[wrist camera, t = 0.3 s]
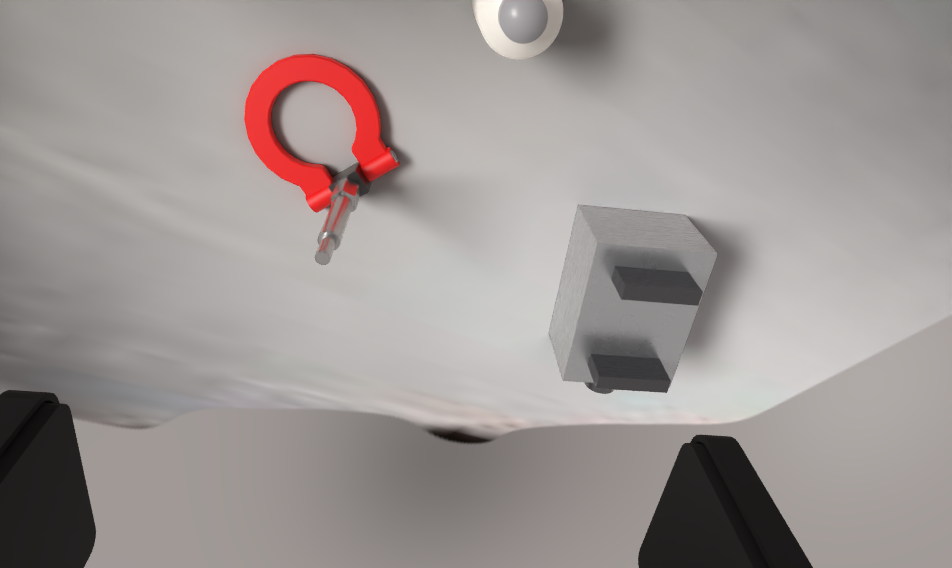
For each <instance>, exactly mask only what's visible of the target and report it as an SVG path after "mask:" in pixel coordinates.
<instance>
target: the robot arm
mask: <svg viewBox="0 0 952 568" xmlns="http://www.w3.org/2000/svg"><path fill="white" fill-rule="evenodd" d="M95 537H96V528H95V523H94V519H93V514H92V509H91V504H90V499H89V495H88V490H87V485H86V480H85V476H84V471H83V466H82V462H81V457H80V452H79V447H78V443H77V438H76V433H75V429H74V424H73V419H72V415H71V411H70V408H69V406H68V405H67V404H60V403H59V401H58V398H57V396H56V395H55V394H54V393H47V392H31V391H16V390H8V391H5V392H3V393H2V394H1V395H0V568H84V566H85V564H86V562H87V560H88V558H89V557H90V554H91V552H92V549H93V546H94V542H95ZM638 565H639V568H813V567H812V566H811V564H810V562H809V560H808V559H807V557H806V555H805V554H804V552H803V550H802V549H801V547H800V545H799V543H798V542H797V540H796V538H795V537H794V535H793V534H792V532H791V530H790V528H789V527H788V525H787V524H786V522H785V520H784V518H783V517H782V515H781V514H780V512H779V510H778V508H777V507H776V505H775V503H774V502H773V500H772V498H771V497H770V495H769V493H768V492H767V490H766V488H765V487H764V485H763V483H762V481H761V480H760V478H759V477H758V475H757V473H756V471H755V470H754V468H753V466H752V465H751V463H750V461H749V460H748V458H747V456H746V454H745V453H744V451H743V449H742V448H741V446H740V445H739V443H738V442H737V441H736V439H734V438H732V437H727V436H712V435H696V436H695V437H693V439H692V441H691V442H690V443H685V444H683V445H682V447H681V449H680V451H679V454H678V456H677V459H676V461H675V464H674V467H673V469H672V471H671V474H670V477H669V479H668V481H667V484H666V486H665V488H664V491H663V494H662V496H661V498H660V501H659V504H658V506H657V508H656V511H655V513H654V516H653V518H652V521H651V523H650V526H649V528H648V531H647V533H646V536H645V538H644V540H643V543H642V546H641V548H640V551H639V557H638Z"/></svg>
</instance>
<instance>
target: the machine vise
mask: <svg viewBox="0 0 952 568" xmlns="http://www.w3.org/2000/svg"><path fill="white" fill-rule="evenodd" d="M717 255H718V253H717V252H716V251H715V250H714V249H713V248H712V246H711V245H710V244H709V243H708V242H707V240H706V239H705V238H704V237H703V236H702V235H701V233H700V232H699V231H698V230H697V229H696V227H695V226H694V225H693V224H692V223H691V221H690V220H689V219H688V218H687V217H686V216H685V215H677V214H667V213H657V212H647V211H637V210H626V209H616V208H606V207H596V206H586V205H578V207H577V211H576V215H575V220H574V224H573V229H572V233H571V237H570V242H569V246H568V251H567V255H566V259H565V264H564V268H563V272H562V277H561V281H560V286H559V290H558V294H557V299H556V303H555V307H554V312H553V316H552V321H551V325H550V329H549V335H550V339H551V342H552V345H553V349H554V352H555V356H556V359H557V363H558V366H559V370H560V373H561V377H562V380H563V381H575V382H585V385H586V386H587V387H588V388H589V389H591V390H592V391H594V392H597V393H602V394H607V393H611V392H612V391H613V390H614V389H616V390H632V391H649V392H665V393H667V391H668V388H669V387H670V385H671V382H672V380H673V377H674V374H675V371H676V369H677V366H678V363H679V360H680V357H681V355H682V352H683V349H684V346H685V344H686V341H687V338H688V335H689V333H690V330H691V327H692V324H693V321H694V319H695V316H696V313H697V310H698V308H699V305H700V302H701V299H702V296H703V294H704V291H705V288H706V285H707V283H708V280H709V277H710V274H711V271H712V269H713V266H714V263H715V260H716V258H717Z"/></svg>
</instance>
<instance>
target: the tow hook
mask: <svg viewBox="0 0 952 568" xmlns="http://www.w3.org/2000/svg"><path fill="white" fill-rule="evenodd" d="M300 81H315V82H319V83H324V84H326V85H328V86H330V87H332V88H334V89H335V90H337V91H338V92H339V93H340V94H341V95H342V96H343V97H344V98H345V99H346V100H347V102H348V103H349V105H350V106H351V108H352V110H353V113H354V116H355V119H356V127H357V131H356V138H355V141H354V143H353V146H352V152H353V154H354V155H355V157H356V158H357V160H358V161H359V162H358V163H356V164H354V165H352V166H351V167H349V168H347V169H346V170H344V171H342V172H340V173H339V174H337V175H335V176H334V177H332V176H331V175H330V173H329V172H328V170H327V169H326V167H325V166H323V165H321V164H311V163H306V162H303V161H301V160H299V159H297V158H295V157H293V156H292V155H291V154H289V153H288V152H287V151H286V150H285V149H284V148H283V147H282V145H281V144H280V143H279V142H278V140H277V138H276V136H275V133H274V131H273V127H272V121H271V115H272V107H273V105H274V102H275V99H276V97H277V96H278V95H279V94H280V92H281V91H282V90H283V89H285V88H286V87H288V86H289V85H291V84H294V83H297V82H300ZM244 120H245V125H246V130H247V135H248V138H249V140H250V142H251V144H252V146H253V148H254V151H255V153H256V154H257V155H258V157H259V158H260V159H261V160H262V162H263V163H264V164H265V165H266V166H267V167H268V168H269V169H270V170H271V171H273V172H274V173H275V174H277V175H278V176H279V177H280V178H282V179H284V180H286V181H289V182H291V183H293V184H295V185H297V186H300V187H301V189H302V190H303V191H304V193H305V194H306V200H307V203H308V205H309V206H310V208H311V209H312V210H313V211H314V212H319V211H321V210H322V209H324V208H326V207H328V206H329V205H331V208H330V210H329V213H328V215H327V217H326V220H325V222H324V224H323V227H322V229H321V232H320V234H319V236H318V244H319V247H318V250H317V252H316V255H315V260H316V262H317V263H319V264H321V265H326V264H328V263H329V262H330V259H331V256H332V254H333V251H334V250H336V249H337V248H338V247H339V246H340V243H341V240H342V237H343V234H344V231H345V228H346V225H347V222H348V219H349V216H350V213H351V212H353V211H354V210H355V209H356V207H357V204H358V201H359V198H360V197H361V196H362V195H364V194H366V193H368V192H369V189H370V185H371V182H372V181H373V180H375V179H377V178H378V177H380V176H382V175H384V174H385V173H387V172H389V171H391V170H392V169H394V168H396V167H397V166H399V165H400V164H399V160H398V158H397V156H396V154H395V153H394V151H393V150H392V149H391V148H390V147H386V146H385V144H384V143H383V141H382V140H381V138H380V133H381V122H380V112H379V109H378V106H377V104H376V101H375V98H374V96H373V94H372V92H371V91H370V89H369V88H368V86H367V85H366V84H365V82H364V81H363V79H362V78H361V77H359V76H358V75H357V74H356V73H355V72H354V71H353V70H351V69H350V68H349V67H348V66H346V65H344V64H342V63H340V62H338V61H336V60H334V59H332V58H329V57H325V56H320V55H316V54H301V55H293V56H290V57H287V58H284V59H281V60H278V61H277V62H275V63H274V64H273V65H271V66H270V67H268V68H267V69H266V70H264V71H263V72H262V73H261V74H260V75H259V77H258V78H257V79H256V81H255V82H254V83H253V85H252V86H251V89H250V92H249V94H248V97H247V100H246V105H245V119H244Z"/></svg>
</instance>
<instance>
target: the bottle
mask: <svg viewBox="0 0 952 568" xmlns="http://www.w3.org/2000/svg"><path fill="white" fill-rule="evenodd" d="M471 2H472V10H473V14H474V17H475V19H476V21H477V23H478V26H479V28H480V30H481V32H482V34H483V37H484V39H485V40H486V42H487V43H488V44H489V46H490V47H491V48H492V49H493V50H494V51H496V52H497V53H499V54H500V55H502V56H504V57H507V58H511V59H527V58H531V57H534V56H536V55H538V54H540V53H542V52H543V51H544V50H546V49H547V48H548V47H549V46H550V45H551V44H552V43H553V41H554V40H555V38H556V37H557V35H558V33H559V31H560V28H561V25H562V20H563V3H562V0H471Z"/></svg>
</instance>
